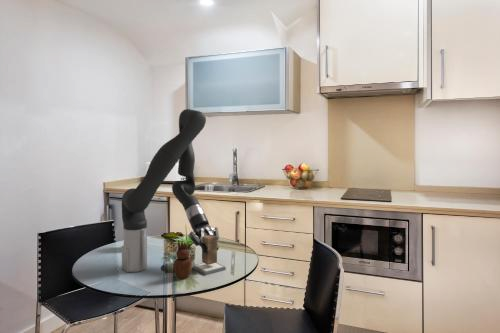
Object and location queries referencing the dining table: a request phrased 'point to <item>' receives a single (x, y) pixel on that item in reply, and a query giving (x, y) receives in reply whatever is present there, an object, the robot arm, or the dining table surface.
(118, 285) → the dining table surface
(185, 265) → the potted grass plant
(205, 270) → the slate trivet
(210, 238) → the walnut block
